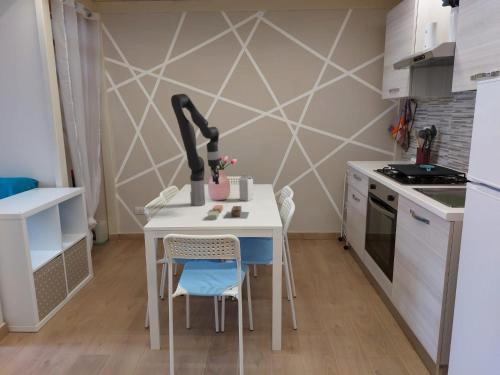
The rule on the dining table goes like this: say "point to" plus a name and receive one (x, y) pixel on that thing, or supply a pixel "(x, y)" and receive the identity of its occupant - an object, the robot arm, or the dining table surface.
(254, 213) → the dining table surface
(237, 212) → the walnut brick
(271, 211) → the dining table surface
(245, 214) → the baseplate
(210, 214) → the sage brick
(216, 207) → the terracotta brick
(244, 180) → the milk carton
